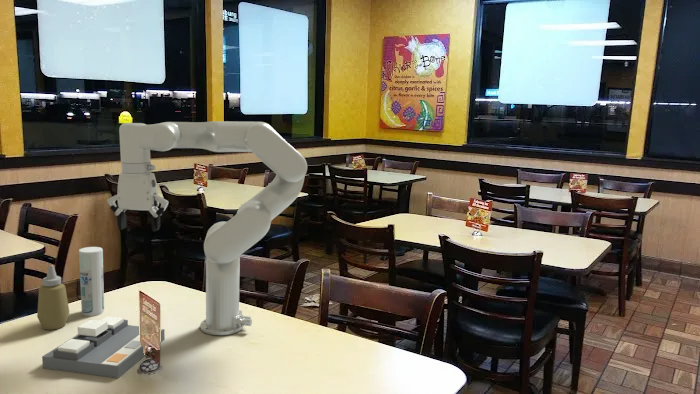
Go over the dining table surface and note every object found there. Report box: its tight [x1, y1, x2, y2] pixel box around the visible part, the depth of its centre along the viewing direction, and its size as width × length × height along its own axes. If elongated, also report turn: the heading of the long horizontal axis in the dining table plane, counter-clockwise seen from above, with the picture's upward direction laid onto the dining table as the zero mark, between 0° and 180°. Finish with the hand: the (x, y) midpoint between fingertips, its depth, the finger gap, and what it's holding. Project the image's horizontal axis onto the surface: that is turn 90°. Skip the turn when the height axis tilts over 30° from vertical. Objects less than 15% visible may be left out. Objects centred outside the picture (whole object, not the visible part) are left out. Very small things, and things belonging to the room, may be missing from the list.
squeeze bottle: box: [36, 264, 70, 331], centre depth 152 cm, size 8×8×18 cm
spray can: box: [78, 246, 105, 317], centre depth 162 cm, size 6×6×20 cm
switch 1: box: [57, 338, 90, 353], centre depth 131 cm, size 5×5×2 cm
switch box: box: [41, 319, 166, 379], centre depth 138 cm, size 20×22×5 cm
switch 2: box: [77, 319, 108, 337], centre depth 138 cm, size 5×5×2 cm
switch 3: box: [100, 315, 125, 328], centre depth 146 cm, size 5×5×2 cm
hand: (139, 229), depth 149 cm, fingers open, 9 cm apart
